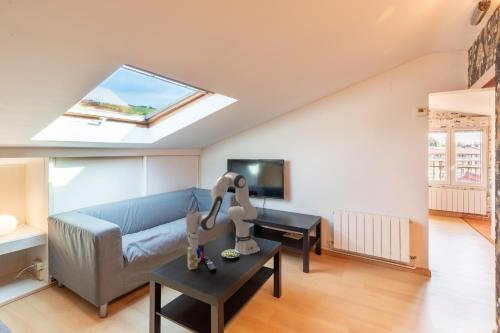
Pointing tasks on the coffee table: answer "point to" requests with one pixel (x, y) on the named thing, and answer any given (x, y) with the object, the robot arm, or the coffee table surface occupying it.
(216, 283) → the coffee table surface
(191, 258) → the tower mid
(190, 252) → the sage cube
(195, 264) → the tower base
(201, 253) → the puzzle toy
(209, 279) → the coffee table surface
